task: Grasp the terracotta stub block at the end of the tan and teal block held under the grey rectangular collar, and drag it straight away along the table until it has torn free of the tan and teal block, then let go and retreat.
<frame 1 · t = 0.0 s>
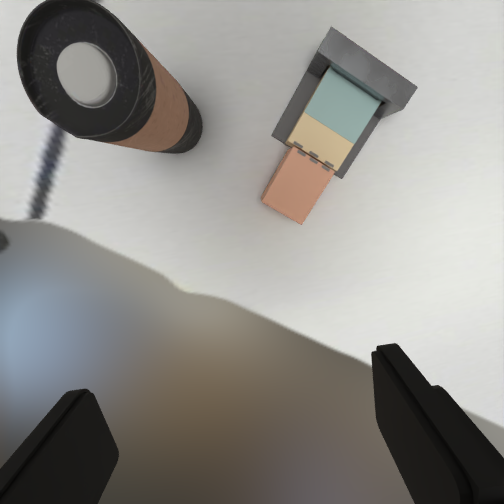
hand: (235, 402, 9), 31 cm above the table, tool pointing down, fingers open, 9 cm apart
tan and teal block: (331, 117, 34), resting on mat
grey rectangular collar: (349, 86, 33), resting on mat
mat: (332, 114, 35), on the table
stub: (294, 185, 34), point 3 cm above the table, slide at 0.0 cm
travel mug: (175, 124, 35), on the table
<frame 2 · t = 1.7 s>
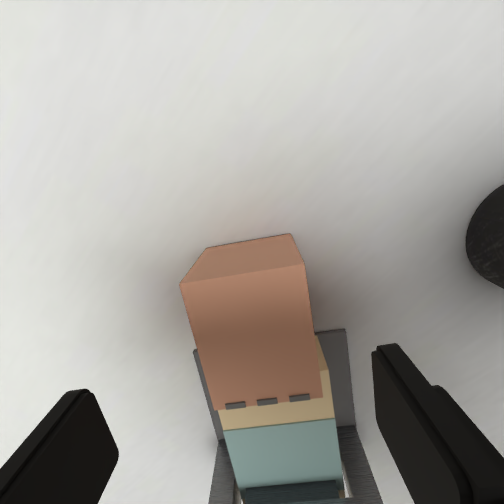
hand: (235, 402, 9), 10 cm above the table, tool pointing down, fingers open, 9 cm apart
tan and teal block: (279, 404, 21), resting on mat
grey rectangular collar: (287, 443, 22), resting on mat
mat: (280, 406, 21), on the table
stub: (256, 312, 15), point 3 cm above the table, slide at 0.0 cm
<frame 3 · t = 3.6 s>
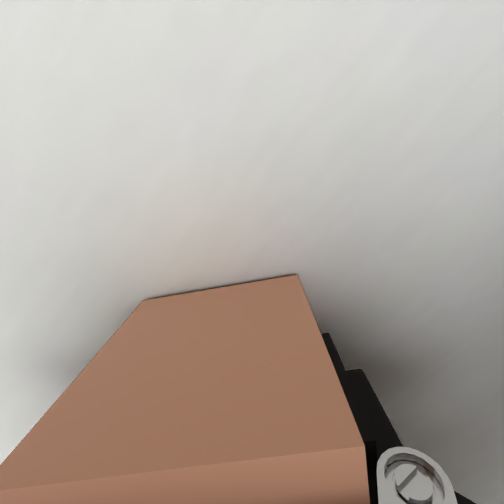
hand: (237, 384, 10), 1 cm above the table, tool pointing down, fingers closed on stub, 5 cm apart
stub: (231, 448, 8), point 3 cm above the table, slide at 0.0 cm, touching gripper
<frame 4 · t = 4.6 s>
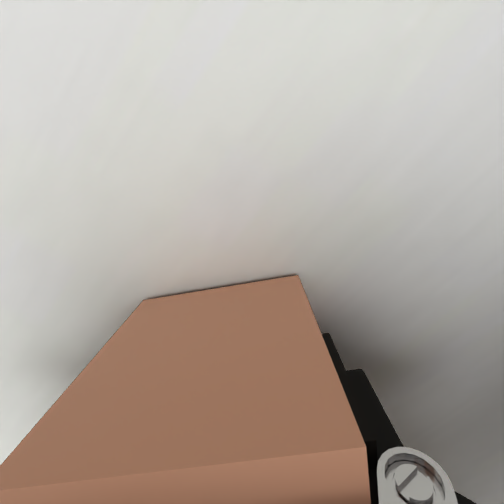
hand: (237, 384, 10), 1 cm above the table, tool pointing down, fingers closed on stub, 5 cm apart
stub: (231, 448, 8), point 3 cm above the table, slide at 3.1 cm, touching gripper
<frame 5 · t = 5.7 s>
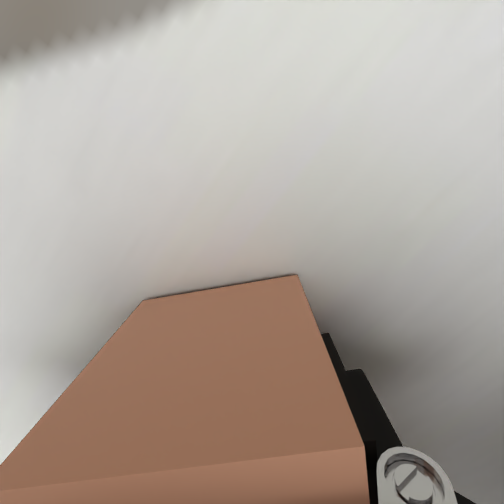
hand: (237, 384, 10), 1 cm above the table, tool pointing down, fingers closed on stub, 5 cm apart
stub: (231, 448, 8), point 3 cm above the table, slide at 8.4 cm, touching gripper
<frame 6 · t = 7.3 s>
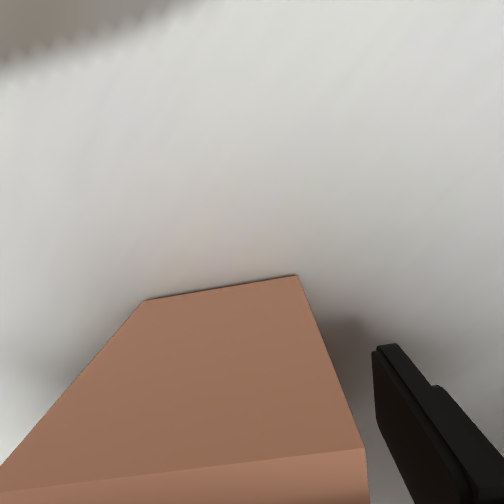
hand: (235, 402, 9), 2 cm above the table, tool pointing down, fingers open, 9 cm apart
stub: (231, 449, 8), point 3 cm above the table, slide at 8.5 cm
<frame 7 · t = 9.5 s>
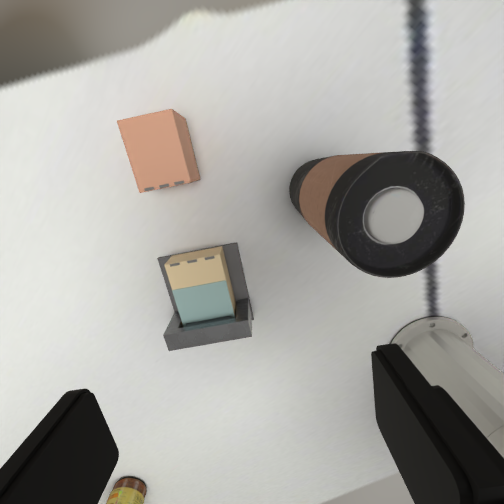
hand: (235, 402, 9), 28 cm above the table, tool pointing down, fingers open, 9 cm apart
tan and teal block: (206, 287, 38), resting on mat
grey rectangular collar: (213, 311, 40), resting on mat
mat: (207, 289, 39), on the table
stub: (163, 153, 30), point 3 cm above the table, slide at 8.5 cm
travel mug: (316, 188, 35), on the table
sauce bottle: (131, 485, 51), on the table
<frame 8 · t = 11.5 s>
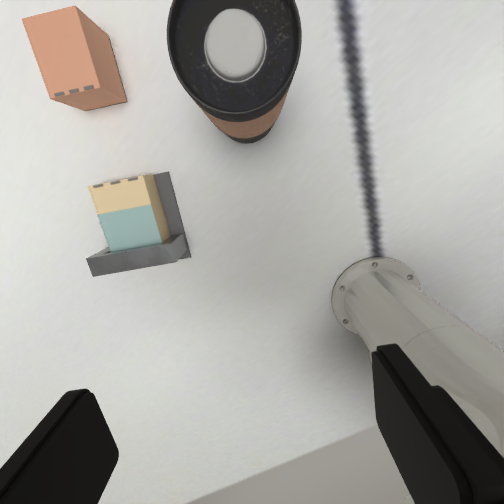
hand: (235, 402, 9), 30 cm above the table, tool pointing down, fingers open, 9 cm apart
tan and teal block: (140, 220, 38), resting on mat
grey rectangular collar: (148, 247, 39), resting on mat
mat: (142, 223, 38), on the table
stub: (80, 65, 30), point 3 cm above the table, slide at 8.5 cm
travel mug: (246, 113, 34), on the table
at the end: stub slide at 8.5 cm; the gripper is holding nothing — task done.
